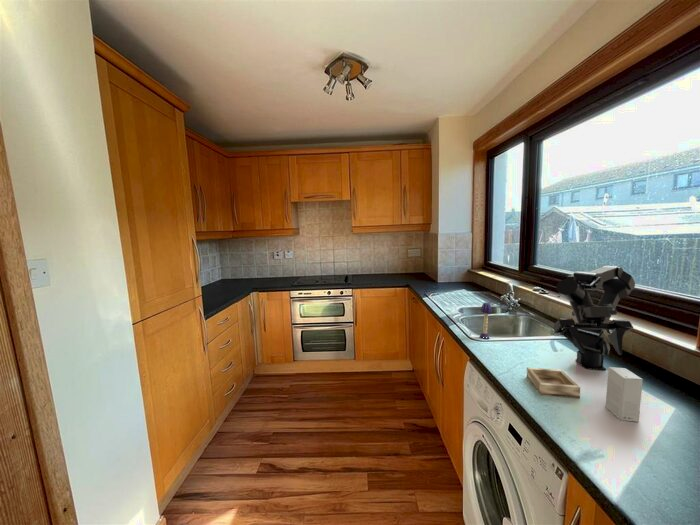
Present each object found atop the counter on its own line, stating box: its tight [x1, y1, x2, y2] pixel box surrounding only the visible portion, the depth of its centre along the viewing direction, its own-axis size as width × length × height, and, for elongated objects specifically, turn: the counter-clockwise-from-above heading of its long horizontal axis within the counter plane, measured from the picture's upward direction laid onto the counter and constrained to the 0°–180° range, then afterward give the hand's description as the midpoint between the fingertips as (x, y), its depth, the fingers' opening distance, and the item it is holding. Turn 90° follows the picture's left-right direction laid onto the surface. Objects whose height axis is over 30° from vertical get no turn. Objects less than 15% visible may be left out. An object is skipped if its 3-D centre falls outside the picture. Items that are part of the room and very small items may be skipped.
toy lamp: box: [479, 302, 493, 339], centre depth 127 cm, size 5×5×17 cm
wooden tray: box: [526, 367, 581, 399], centre depth 88 cm, size 10×10×4 cm
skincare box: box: [604, 366, 644, 423], centre depth 74 cm, size 6×4×12 cm
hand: (601, 353), depth 81 cm, fingers open, 9 cm apart
